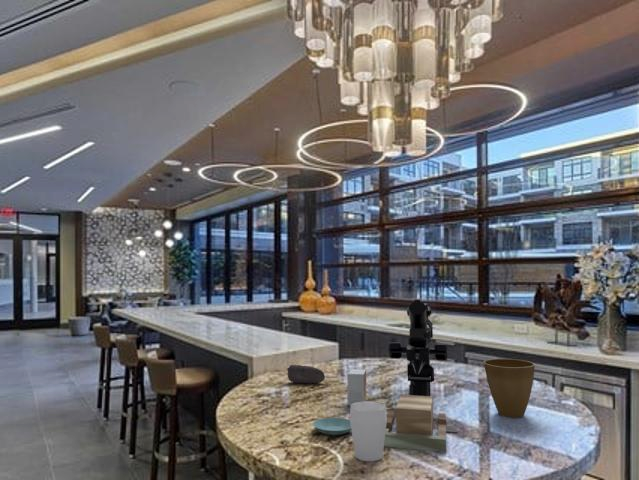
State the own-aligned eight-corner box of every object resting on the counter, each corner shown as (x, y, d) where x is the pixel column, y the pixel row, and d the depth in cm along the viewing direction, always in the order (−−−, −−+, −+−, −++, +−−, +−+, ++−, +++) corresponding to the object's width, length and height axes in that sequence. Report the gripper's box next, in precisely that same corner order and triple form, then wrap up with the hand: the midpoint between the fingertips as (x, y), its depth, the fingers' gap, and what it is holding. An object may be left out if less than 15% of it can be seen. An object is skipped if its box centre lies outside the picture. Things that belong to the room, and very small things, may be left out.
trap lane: (379, 415, 148) (379, 405, 148) (456, 421, 142) (455, 410, 143) (366, 444, 124) (366, 433, 124) (458, 453, 118) (458, 440, 118)
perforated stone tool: (326, 382, 191) (326, 365, 192) (323, 385, 186) (323, 367, 187) (290, 380, 195) (290, 363, 195) (286, 383, 190) (286, 366, 190)
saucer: (314, 424, 140) (313, 416, 141) (354, 425, 140) (354, 417, 140) (312, 439, 129) (312, 430, 129) (355, 439, 128) (355, 430, 128)
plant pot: (533, 409, 153) (532, 359, 154) (538, 424, 139) (537, 368, 140) (485, 405, 158) (483, 356, 159) (485, 419, 144) (483, 365, 145)
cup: (347, 450, 120) (347, 401, 121) (382, 448, 121) (382, 400, 122) (353, 464, 111) (352, 412, 112) (391, 463, 112) (390, 411, 113)
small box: (364, 406, 158) (364, 374, 158) (347, 405, 159) (347, 373, 159) (366, 400, 166) (366, 369, 166) (350, 399, 167) (350, 368, 167)
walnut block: (401, 425, 139) (401, 394, 139) (433, 428, 136) (432, 396, 137) (396, 442, 125) (395, 408, 126) (431, 446, 123) (430, 410, 123)
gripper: (388, 317, 159) (385, 357, 148) (446, 319, 155) (447, 360, 143) (391, 338, 167) (388, 377, 155) (446, 339, 162) (447, 380, 151)
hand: (417, 373), depth 151 cm, fingers closed
